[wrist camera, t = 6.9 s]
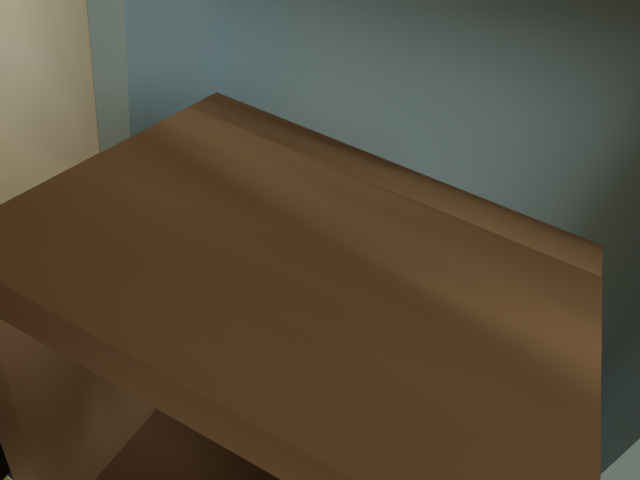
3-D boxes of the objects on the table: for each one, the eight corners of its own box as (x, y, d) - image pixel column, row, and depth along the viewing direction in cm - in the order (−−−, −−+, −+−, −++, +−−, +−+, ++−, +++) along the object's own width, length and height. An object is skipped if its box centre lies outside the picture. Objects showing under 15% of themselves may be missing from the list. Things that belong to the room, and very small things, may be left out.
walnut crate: (447, 469, 11) (368, 754, 8) (199, 338, 13) (30, 524, 9) (602, 245, 7) (599, 614, 4) (216, 91, 9) (-72, 243, 5)
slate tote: (564, 427, 18) (553, 570, 14) (201, 253, 21) (115, 332, 18) (990, -50, 9) (1278, -3, 5) (231, -228, 12) (62, -280, 8)
